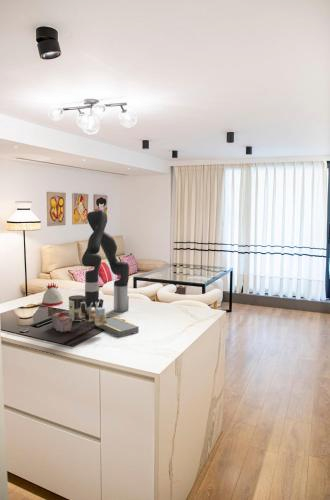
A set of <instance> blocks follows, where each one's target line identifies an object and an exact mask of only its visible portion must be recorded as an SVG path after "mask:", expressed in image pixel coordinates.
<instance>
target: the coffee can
mask: <svg viewBox="0 0 330 500" xmlns="http://www.w3.org/2000/svg"><path fill="white" fill-rule="evenodd" d="M85 300H86V299H85V295H79V294H77V295H76V294H75V295H71V296H69V297H68V317H70V318H72V322H73V321H80V322H83V321H82V320H84V321H86V319H85V318H80V317H79V310H78V309H79V308H80V302H85Z"/></svg>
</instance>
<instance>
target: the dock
mask: <svg viewBox="0 0 330 500" xmlns="http://www.w3.org/2000/svg"><path fill="white" fill-rule="evenodd" d="M97 326H98V325H96V326H95V327H97ZM99 327H100V328H99ZM97 328H99V329H101V328H102V329H101V330H103V329H104V331H106V332H108V333H110V334H112V335H114V336H117V337H125V336H128V335H132V334H136V333H139V328H140V327H139V326H138V325H136V324H133V323H131V322H128V321H125V320H123V319H121V318H118V317H115V316H112V317H107V324H103V325H99V326H98V327H97Z"/></svg>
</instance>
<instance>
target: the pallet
mask: <svg viewBox="0 0 330 500" xmlns="http://www.w3.org/2000/svg"><path fill="white" fill-rule="evenodd" d="M78 310H79V317H80V318H85V314H84V313H82V311H81V308H79V309H78ZM107 318H108V316H107V314H106V313H105V315H102V316H98V315H96V310H95V309H94V308H91V310H90V311H89V320H88V321H87V320H86V319H85V321H87V322H89V323H90V322H94V325H98V326H99V325H103V324H107Z"/></svg>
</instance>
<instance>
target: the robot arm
mask: <svg viewBox="0 0 330 500" xmlns="http://www.w3.org/2000/svg"><path fill="white" fill-rule="evenodd" d="M86 219H87V222H88V224H89V226H90V228H91V230H92V233H91V234H90V235H89V238H88V241H87V246H86V247H87V248H86V250H85V251H84V253H83V255H82V258H81V264H82V266H83V267H88V268H89V267H93V269H89V270H87V271H85V273H84V274H85V275H84V276H85V277H84V278H85V283H84V296H85V299H86V300H85V302H83V303H80V306H81V311H82V313H84V314H85V321H86V320H87V322H89V321H88V320H89V311H90V310H91V309H94V310H96V308H100V307H102V308H104V299H102V298H99V297H100V293H99V292H100V290H99V289H100V288H99V287H100V286H99V285H100V284H99V271H100V267H101V265H102V264H101V263H102V260H103V259H102V256H101V255H100V254H99V252H100V250H101V249H102V252H103V253H104V254H105V257H106V259H107V262H108V265H109V267H110V270H111V272H112V275H115V276H119V277H120V278H119V279H116V280H114V281H113V312H116V313H118V312H119V313H123V312H124V313H125V312H127V311H129V300H130V297H129V295H128V292H129V291H128V286H129V285H128V284H129V277H130V265H129V263H128V262H126V261H118V259H117V256H116V254H117V252H118V245H117V243H116V240H115V239H114V237H113V236H112V235H111V234H110V233H108V232H106V231H105V229H106V226H107V224H108V223H107V222H108V215H107V212H106V211H105V210H104V209H98V210H93V211H90V212H88V213H86ZM85 304H86V308H85ZM88 307H89V308H88Z"/></svg>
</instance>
